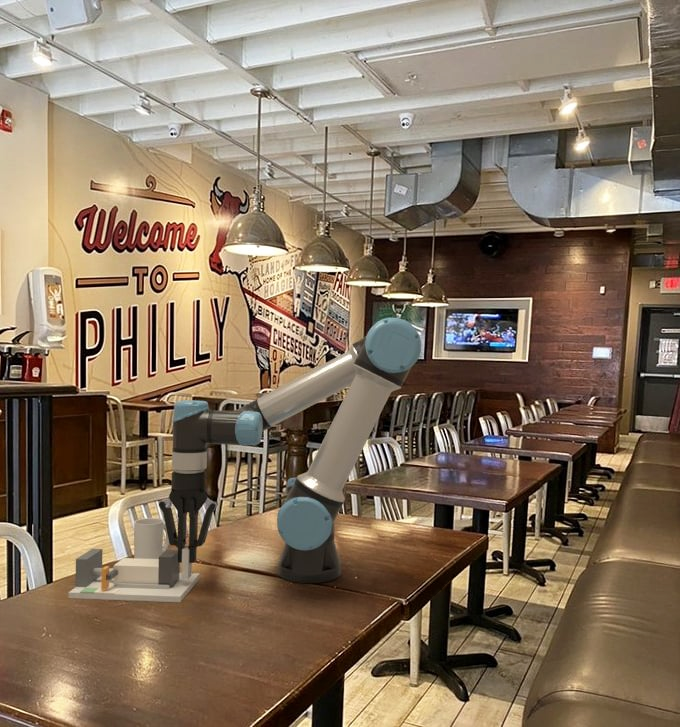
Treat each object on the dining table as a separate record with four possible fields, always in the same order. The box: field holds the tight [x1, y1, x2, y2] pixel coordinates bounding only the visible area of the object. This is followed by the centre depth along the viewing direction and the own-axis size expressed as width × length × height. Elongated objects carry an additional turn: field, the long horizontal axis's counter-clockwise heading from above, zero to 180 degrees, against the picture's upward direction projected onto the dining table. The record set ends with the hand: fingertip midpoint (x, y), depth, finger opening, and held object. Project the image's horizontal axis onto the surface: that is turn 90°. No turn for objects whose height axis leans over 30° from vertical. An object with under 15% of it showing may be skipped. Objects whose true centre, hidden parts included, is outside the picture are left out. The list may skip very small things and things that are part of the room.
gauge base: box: [68, 548, 201, 603], centre depth 142 cm, size 24×15×7 cm, turn 87°
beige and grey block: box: [106, 549, 181, 587], centre depth 140 cm, size 13×9×6 cm
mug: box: [133, 517, 170, 559], centre depth 155 cm, size 10×7×12 cm, turn 147°
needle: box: [101, 565, 110, 590], centre depth 136 cm, size 1×2×4 cm, turn 177°
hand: (186, 576), depth 141 cm, fingers closed
